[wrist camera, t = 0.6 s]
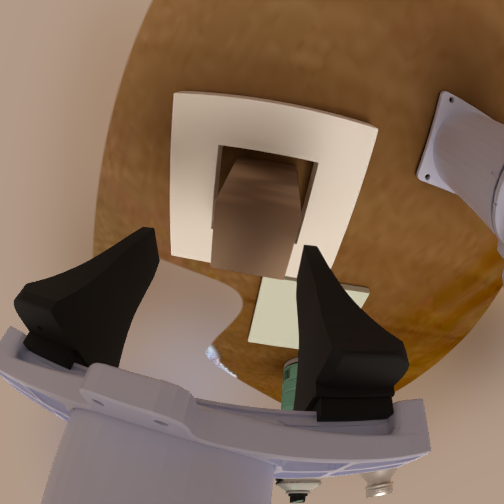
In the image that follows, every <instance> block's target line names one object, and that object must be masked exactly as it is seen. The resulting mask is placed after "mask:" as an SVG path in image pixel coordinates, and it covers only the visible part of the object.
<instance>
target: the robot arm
mask: <svg viewBox="0 0 504 504" xmlns="http://www.w3.org/2000/svg"><path fill="white" fill-rule="evenodd" d="M450 97H451V98H452V101H451V102H450V101H449V98H450ZM427 174H428V177H427V178H425V176H426V175H427ZM416 175H417V178H418V179H419V180H421V181H424V182H426V183H429V184H432V185H434V186H437V187H440V188H442V189H445V190H447V191H450V192H452V193H455V194H457V195H458V196H459V197H460V198H461V199H462V200H463V201H464V202H465V203H466V204H467V205H468V206H469V207H470V208H471V209H472V210H473V211H474V212H475V213H476V214H477V215H478V216H479V217H480V218H481V219H482V221H483V222H484V223H485V224H486V225H487V226H488V227H489V228H490V229H491V231H492V232H493V233H494V234H495V235H496V236H497V238H498V248H497V251H498V252H499V253H500V255H501V256H502V257H503V259H504V124H501V123H499V122H497V121H495V120H493V119H491V118H490V117H489V116H487V115H486V114H484V113H483V112H481V111H479V110H478V109H476V108H475V107H473V106H472V105H470V104H468V103H467V102H465V101H463V100H462V99H460V98H458V97H456V96H455V95H453V94H451V93H449V92H447V91H442V92H441V93H440V97H439V101H438V105H437V108H436V112H435V116H434V119H433V123H432V126H431V130H430V133H429V137H428V140H427V143H426V146H425V149H424V152H423V155H422V158H421V161H420V164H419V167H418V170H417V173H416ZM159 261H160V260H159V255H158V249H157V243H156V237H155V230H154V228H148V227H142V228H141V229H139V230H137V231H135V232H134V233H132V234H131V235H129V236H128V237H126V238H125V239H123V240H122V241H120V242H118V243H117V244H115V245H114V246H112V247H111V248H109V249H108V250H106V251H104V252H103V253H101V254H100V255H98V256H96V257H94V258H93V259H91V260H89V261H87V262H85V263H83V264H81V265H79V266H77V267H75V268H73V269H70V270H68V271H66V272H64V273H61V274H58V275H56V276H53V277H50V278H47V279H43V280H40V281H36V282H32V283H28V284H26V285H25V286H24V288H23V289H22V290H21V292H20V293H19V294H18V296H17V297H16V298H15V300H14V307H15V309H16V311H17V313H18V315H19V317H20V318H21V320H22V321H23V323H24V324H25V325H26V327H27V328H28V330H29V331H30V332H29V334H28V335H27V336H26V335H25V334H24V333H23V332H21V331H19V330H17V329H15V328H13V327H12V326H10V327H9V328H8V330H7V331H6V333H5V334H4V336H3V338H2V339H1V341H0V375H1V376H2V377H3V378H4V379H5V380H6V381H7V382H8V383H9V384H10V385H11V386H12V387H13V388H14V389H16V390H17V391H19V392H20V393H22V394H23V395H25V396H26V397H28V398H29V399H31V400H32V401H34V402H35V403H37V404H39V405H40V406H42V407H43V408H45V409H47V410H48V411H50V412H51V413H53V414H55V415H57V416H58V417H60V418H62V419H63V420H65V421H67V422H68V423H67V426H66V428H65V431H64V433H63V436H62V439H61V441H60V444H59V447H58V450H57V453H56V456H55V459H54V462H53V465H52V468H51V471H50V474H49V477H48V481H47V484H46V488H45V491H44V495H43V499H42V502H41V504H271V496H272V487H273V478H280V479H293V478H319V477H332V476H343V475H351V474H359V473H366V472H373V471H379V470H386V469H391V468H397V467H400V466H403V465H405V464H407V463H409V462H412V461H414V460H416V459H418V458H421V457H422V456H425V455H427V454H429V453H430V452H431V447H430V440H429V432H428V426H427V419H426V414H425V408H424V402H423V399H413V400H403V401H398V402H395V403H392V397H393V396H394V394H395V392H394V385H395V384H396V383H397V382H398V381H399V380H400V379H401V378H402V377H403V376H404V374H405V373H406V371H407V370H408V367H409V362H408V358H407V353H406V350H405V347H404V344H403V342H402V341H401V340H399V339H398V338H396V337H395V336H393V335H392V334H390V333H389V332H388V331H386V330H385V329H384V328H382V327H381V326H380V325H379V324H377V323H376V322H375V321H374V320H373V319H372V318H370V317H369V316H368V315H367V314H366V313H365V312H364V311H363V310H362V309H361V308H360V307H359V306H358V305H357V304H356V303H355V302H354V300H353V299H352V298H351V297H350V296H349V295H348V293H347V292H346V291H345V290H344V288H343V287H342V286H341V284H340V283H339V281H338V280H337V278H336V277H335V275H334V274H333V272H332V271H331V269H330V268H329V266H328V264H327V262H326V261H325V259H324V257H323V256H322V254H321V252H320V250H319V248H318V247H317V246H312V245H304V247H303V251H302V256H301V261H300V266H299V270H298V275H297V286H296V303H297V317H298V331H299V351H298V367H297V380H296V390H295V400H294V408H293V410H279V409H267V408H257V407H248V406H240V405H234V404H226V403H220V402H214V401H208V400H203V399H198V398H194V397H193V396H192V395H191V393H190V392H189V391H187V390H185V389H183V388H182V387H180V386H178V385H175V384H172V383H169V382H166V381H163V380H159V379H155V378H151V377H148V376H143V375H140V374H136V373H133V372H129V371H126V370H123V369H119V368H118V367H119V363H120V359H121V355H122V350H123V347H124V343H125V340H126V337H127V333H128V331H129V328H130V325H131V322H132V319H133V317H134V314H135V312H136V310H137V308H138V306H139V304H140V302H141V300H142V298H143V297H144V295H145V293H146V291H147V289H148V287H149V285H150V283H151V281H152V279H153V278H154V275H155V272H156V270H157V267H158V264H159ZM502 281H503V286H504V269H503V273H502Z"/></svg>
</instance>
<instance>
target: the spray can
mask: <svg viewBox="0 0 504 504" xmlns="http://www.w3.org/2000/svg"><path fill="white" fill-rule="evenodd" d="M297 367H298V357H297V358H293V359H290V360H288V361H287V362H286V363H285V364H284V368H283V387H282V403H281V410H293V408H294V400H295V390H296V380H297ZM322 478H323V477H319V478H293V479H280V478H275V479H276V481H277V482H276V485H277V486H279V487H281V488H282V489H284V490H286V494H289V496H290V503H300V502H305V497H306V496H307V495H308V494H309V493H310V490H312V489H314V488H315V487H317V486H318V485H321V480H322Z"/></svg>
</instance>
